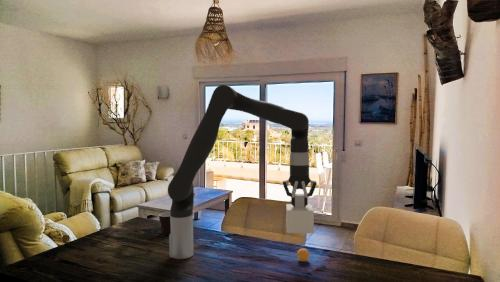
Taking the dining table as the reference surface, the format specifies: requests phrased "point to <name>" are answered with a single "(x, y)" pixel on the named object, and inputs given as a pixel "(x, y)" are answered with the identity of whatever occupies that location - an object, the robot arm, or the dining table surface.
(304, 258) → the ball
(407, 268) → the dining table surface
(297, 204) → the cream open-backed crate
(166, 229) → the coffee mug
